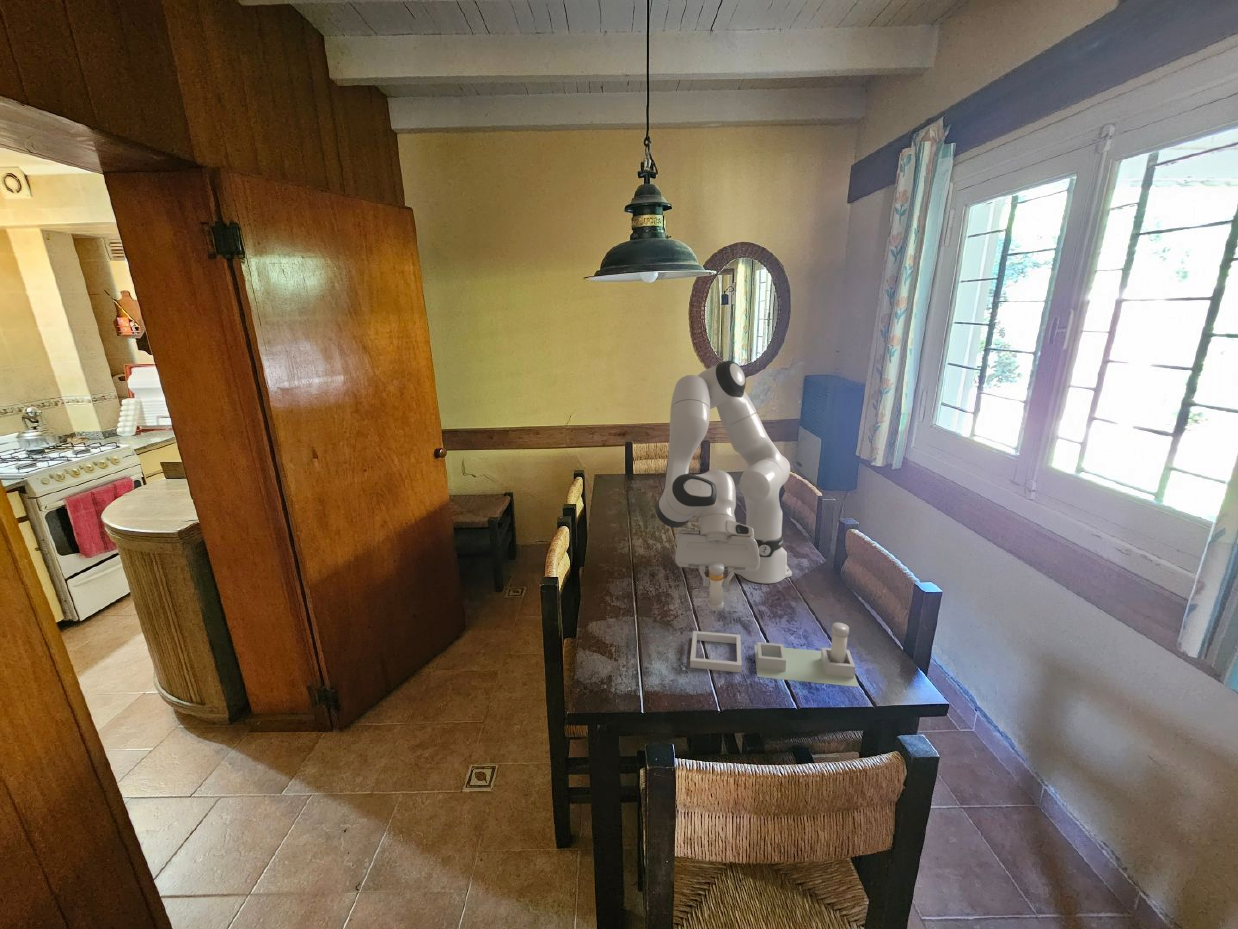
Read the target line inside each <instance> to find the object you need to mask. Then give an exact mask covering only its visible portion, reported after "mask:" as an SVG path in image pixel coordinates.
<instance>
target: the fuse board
mask: <svg viewBox="0 0 1238 929" xmlns="http://www.w3.org/2000/svg"><path fill="white" fill-rule="evenodd" d="M753 647H754V656H755V667H756V668H755V669H756V677H757V678H765V679H775V680H783V681H794V682H803V683H815V684H824V685H835V686H843V687H844V686H845V687H846V686H847V687H856V688H860V686H859V683H858V680H857V676H856V674H855V673H856V672H855V671H856V665H855V662H854V660H853V659H854V658H853V657H852V654H851V651H850V649H846V657H845V663H846V664H844V663H833V662H829V659H830V655H831V647H823V646H822V647H821V650H815V649H804V648H803V649H802V648H792V647H791V648H790V647H785V645H784V644H783V643H773V642H762V641H761V642H760V641H757V642H756V644H754V646H753Z"/></svg>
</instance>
